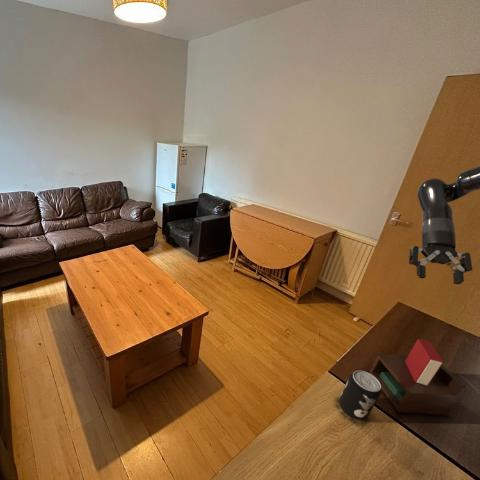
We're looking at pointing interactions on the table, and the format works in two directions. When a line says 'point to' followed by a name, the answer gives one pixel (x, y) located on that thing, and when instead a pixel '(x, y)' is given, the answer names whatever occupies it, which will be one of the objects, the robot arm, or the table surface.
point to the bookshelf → (415, 386)
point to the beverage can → (360, 395)
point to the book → (423, 362)
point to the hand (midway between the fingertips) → (439, 280)
